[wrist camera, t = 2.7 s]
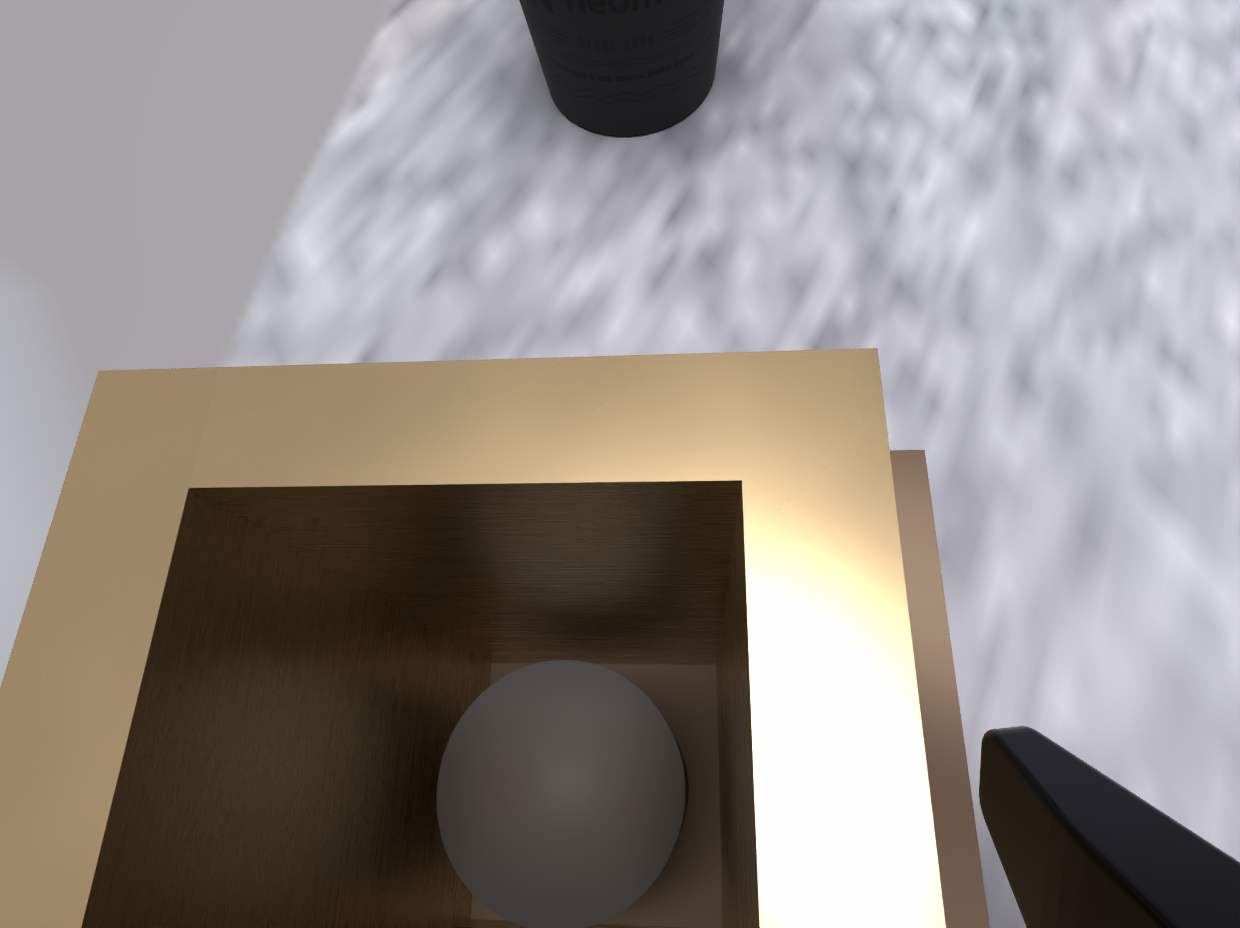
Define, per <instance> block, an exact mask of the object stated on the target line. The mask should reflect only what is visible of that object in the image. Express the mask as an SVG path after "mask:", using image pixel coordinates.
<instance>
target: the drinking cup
mask: <svg viewBox="0 0 1240 928" xmlns="http://www.w3.org/2000/svg"><path fill="white" fill-rule="evenodd" d="M520 3H521V6H522V9H523V12H524V15H525V18H526V21H527V24H528V27H529V30H530V33H531V36H532V39H533V42H534V45H535V48H536V51H537V54H538V57H539V60H540V63H541V66H542V69H543V72H544V75H545V78H546V81H547V84H548V87H549V90H550V93H551V96H552V98H553V100H554V102H555V104H556V105H557V107H558V108H559V109H560V111H561V112H562V113H563V114H564V115H565V116H566V117H567V118H569V119H570V120H571V121H573V122H574V123H576V124H577V125H579V126H581V127H583V128H585V129H588V130H590V131H593V132H597V133H601V134H606V135H613V136H634V135H642V134H647V133H651V132H655V131H658V130H661V129H664V128H666V127H669V126H671V125H673V124H675V123H677V122H679V121H680V120H682V119H684V118H685V117H686V116H688V115H689V114H690V113H691V112H693V111H694V110H695V109H696V108H697V107H698V106H699V105H700V104H701V102H702V101H703V100H704V98H705V97H706V95H707V94H708V92H709V90H710V88H711V86H712V83H713V80H714V75H715V69H716V61H717V53H718V45H719V37H720V29H721V21H722V13H723V5H724V0H520Z"/></svg>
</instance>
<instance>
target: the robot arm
mask: <svg viewBox="0 0 1240 928" xmlns="http://www.w3.org/2000/svg"><path fill="white" fill-rule="evenodd" d="M979 798H980V805H981V809H982V813H983V816H984V819H985V822H986V825H987V827H988V830H989V832H990V835H991V837H992V840H993V842H994V845H995V848H996V850H997V853H998V855H999V858H1000V860H1001V863H1002V865H1003V868H1004V870H1005V873H1006V876H1007V878H1008V881H1009V883H1010V886H1011V888H1012V891H1013V893H1014V896H1015V899H1016V901H1017V904H1018V906H1019V909H1020V911H1021V914H1022V916H1023V919H1024V921H1025V924H1026V927H1027V928H1240V862H1238V861H1237V860H1235V859H1234V858H1232V857H1231V856H1229V855H1228V854H1226V853H1225V852H1223V851H1221V850H1220V849H1218V848H1217V847H1215V846H1214V845H1212V844H1211V843H1209V842H1208V841H1206V840H1204V839H1203V838H1201V837H1200V836H1198V835H1197V834H1195V833H1194V832H1192V831H1191V830H1189V829H1187V828H1186V827H1184V826H1183V825H1181V824H1180V823H1178V822H1177V821H1175V820H1174V819H1172V818H1171V817H1169V816H1167V815H1166V814H1164V813H1163V812H1161V811H1160V810H1158V809H1157V808H1155V807H1154V806H1152V805H1150V804H1149V803H1147V802H1146V801H1144V800H1143V799H1141V798H1140V797H1138V796H1137V795H1135V794H1133V793H1132V792H1130V791H1129V790H1127V789H1126V788H1124V787H1123V786H1121V785H1120V784H1118V783H1117V782H1115V781H1113V780H1112V779H1110V778H1109V777H1107V776H1106V775H1104V774H1103V773H1101V772H1100V771H1098V770H1096V769H1095V768H1093V767H1092V766H1090V765H1089V764H1087V763H1086V762H1084V761H1083V760H1081V759H1079V758H1078V757H1076V756H1075V755H1073V754H1072V753H1070V752H1069V751H1067V750H1066V749H1064V748H1063V747H1061V746H1059V745H1058V744H1056V743H1055V742H1053V741H1052V740H1050V739H1049V738H1047V737H1046V736H1044V735H1042V734H1041V733H1039V732H1038V731H1036V730H1034V729H1032V728H1029V727H1025V726H1019V727H1010V728H1001V729H992V730H989V731H987V732H986V733H985V734H984V736H983V739H982V747H981V766H980V785H979Z"/></svg>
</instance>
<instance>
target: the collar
mask: <svg viewBox="0 0 1240 928" xmlns="http://www.w3.org/2000/svg"><path fill="white" fill-rule="evenodd" d="M554 660H574V661H583V662H587V663H592V664H660V665H716V677H717V718H718V759H719V800H720V841H721V882H722V923H723V928H946V925H945V917H944V908H943V900H942V891H941V883H940V874H939V866H938V857H937V849H936V840H935V832H934V824H933V815H932V807H931V798H930V790H929V781H928V773H927V764H926V756H925V747H924V739H923V730H922V722H921V713H920V705H919V696H918V688H917V679H916V671H915V662H914V654H913V645H912V637H911V628H910V620H909V612H908V603H907V595H906V586H905V578H904V569H903V561H902V552H901V544H900V535H899V527H898V518H897V510H896V501H895V493H894V484H893V476H892V467H891V459H890V450H889V442H888V433H887V425H886V416H885V408H884V400H883V391H882V383H881V374H880V366H879V357H878V349H877V348H871V349H837V350H802V351H767V352H733V353H698V354H664V355H629V356H595V357H560V358H526V359H491V360H457V361H422V362H388V363H353V364H318V365H284V366H249V367H215V368H181V369H148V370H147V369H146V370H114V371H113V370H111V371H98V374H97V377H96V381H95V384H94V387H93V391H92V394H91V397H90V400H89V403H88V407H87V410H86V413H85V417H84V420H83V423H82V426H81V429H80V432H79V436H78V439H77V442H76V445H75V448H74V452H73V455H72V458H71V461H70V465H69V468H68V472H67V474H66V478H65V481H64V484H63V487H62V490H61V494H60V497H59V500H58V504H57V507H56V510H55V513H54V516H53V520H52V523H51V526H50V529H49V533H48V536H47V539H46V542H45V545H44V549H43V552H42V555H41V559H40V562H39V565H38V568H37V571H36V574H35V578H34V581H33V584H32V588H31V591H30V594H29V597H28V600H27V604H26V607H25V610H24V613H23V617H22V620H21V623H20V626H19V629H18V633H17V636H16V640H15V643H14V646H13V649H12V652H11V655H10V659H9V662H8V665H7V668H6V671H5V675H4V678H3V681H2V685H1V688H0V928H528V927H524V926H521V925H518V924H516V923H513V922H511V921H509V920H490V919H471V907H472V893H471V892H470V890H469V889H468V888H467V887H466V886H465V885H464V883H463V882H462V880H461V879H460V877H459V876H458V874H457V873H456V871H455V870H454V868H453V865H452V863H451V861H450V859H449V857H448V855H447V853H446V850H445V847H444V844H443V841H442V838H441V833H440V828H439V823H438V815H437V783H438V777H439V770H440V766H441V762H442V758H443V755H444V751H445V749H446V746H447V744H448V741H449V739H450V737H451V734H452V733H453V731H454V729H455V727H456V725H457V724H458V722H459V720H460V719H461V717H462V716H463V714H464V713H465V712H466V710H467V709H468V708H469V706H470V705H471V704H472V703H473V702H474V701H475V700H476V699H477V698H478V697H479V695H480V694H482V693H483V692H484V691H485V690H486V689H487V688H489V686H490V674H491V663H541V662H546V661H554ZM587 928H687V927H662V926H637V925H613V924H596V925H593V926H590V927H587Z"/></svg>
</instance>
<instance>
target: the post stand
mask: <svg viewBox="0 0 1240 928" xmlns="http://www.w3.org/2000/svg"><path fill="white" fill-rule="evenodd" d="M890 459H891V467H892V476H893V484H894V493H895V501H896V510H897V518H898V527H899V535H900V544H901V552H902V561H903V569H904V578H905V586H906V595H907V603H908V612H909V620H910V628H911V637H912V645H913V654H914V662H915V671H916V679H917V688H918V696H919V705H920V713H921V722H922V730H923V739H924V747H925V756H926V764H927V773H928V781H929V790H930V798H931V807H932V815H933V824H934V832H935V840H936V849H937V857H938V866H939V874H940V883H941V891H942V900H943V908H944V917H945V925H946V928H989V920H988V913H987V906H986V898H985V891H984V884H983V876H982V869H981V862H980V854H979V847H978V840H977V832H976V825H975V818H974V810H973V803H972V796H971V788H970V781H969V774H968V766H967V759H966V752H965V744H964V737H963V730H962V722H961V715H960V708H959V700H958V693H957V686H956V678H955V671H954V664H953V656H952V649H951V642H950V634H949V627H948V620H947V612H946V605H945V598H944V590H943V583H942V575H941V568H940V561H939V553H938V546H937V539H936V531H935V524H934V517H933V509H932V502H931V495H930V487H929V480H928V473H927V465H926V458H925V451H924V450H896V451H890ZM437 815H438V823H439V828H440V833H441V838H442V841H443V844H444V847H445V850H446V853H447V855H448V857H449V859H450V861H451V863H452V865H453V868H454V870H455V871H456V873H457V874H458V876H459V877H460V879H461V880H462V882H463V883H464V885H465V886H466V887H467V888H468V889H469V890H470V892H471V893H472V907H471V919H490V920H509V921H511V922H513V923H516V924H518V925H521V926H524V927H528V928H587V927H590V926H593V925H596V924H613V925H637V926H662V927H687V928H723V923H722V882H721V841H720V800H719V759H718V718H717V677H716V665H660V664H592V663H587V662H583V661H574V660H554V661H546V662H541V663H491V674H490V686H489V688H487V689H486V690H485V691H484V692H483V693H482V694H480V695H479V697H478V698H477V699H476V700H475V701H474V702H473V703H472V704H471V705H470V706H469V708H468V709H467V710H466V712H465V713H464V714H463V716H462V717H461V719H460V720H459V722H458V724H457V725H456V727H455V729H454V731H453V733H452V734H451V737H450V739H449V741H448V744H447V746H446V749H445V751H444V755H443V758H442V762H441V766H440V770H439V777H438V783H437Z"/></svg>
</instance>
